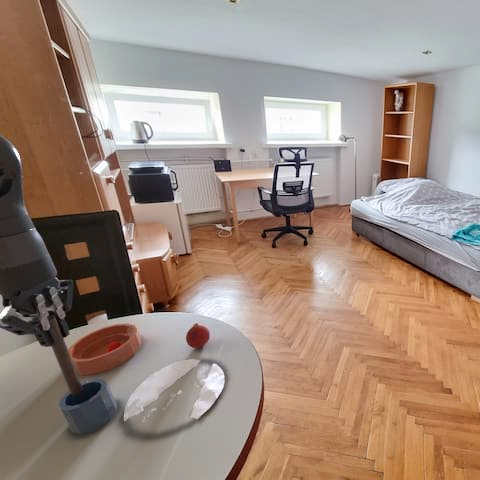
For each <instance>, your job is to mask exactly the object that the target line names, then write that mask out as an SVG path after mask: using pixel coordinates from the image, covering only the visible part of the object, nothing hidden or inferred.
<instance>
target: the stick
mask: <svg viewBox="0 0 480 480" xmlns="http://www.w3.org/2000/svg"><path fill="white" fill-rule="evenodd" d="M47 319H48V321H49V324H50V327H52V328H53V330H54V332H55V334H56V336H57V338H58V340H59V343H58V344H57V345H56V346H51V348H52V352H53V354H54V356H55V359H56V361H57V363H58V366H59V368H60V371H61V373H62V376H63V378H64V381H65V383H66V386H67V388H68V391H70V393H71V395H76V394H79V393H80V392H81V391H82V390H83V388H82V385H81V383H82V382H81V380H80V377H79V375H78V374H77V372H76V369H75V367H74V364H73V361H72V359H71V356H70V354H69V351H68V350H69V348H68V346H67V343H66V340H65V338H63V335H62V333H61V330H60V328H59V325H58V322H57V320H56V317H55V316H48V317H47Z"/></svg>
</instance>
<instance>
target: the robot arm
mask: <svg viewBox="0 0 480 480" xmlns="http://www.w3.org/2000/svg"><path fill="white" fill-rule="evenodd" d="M52 259H53V258H52V257H51V255H50V253H49V251H48V249H47V246H46V243H45V242H44V240H43V238H42V235H40V233H39V232H38V230H37V229H36V227H35V224H34V222H33V220H32V219H31V216H30V214H29V212H28V209H27V207H26V205H25V196H24V184H23V165H22V159H21V156H20V154H19V152H18V150H17V148H16V147H15V146H14V145H13V143H12V142H10V141H9V139H7V138H6V137H4V136H3V135H1V134H0V296H1V298H2V304H1V305H2V307H3V309H2V311H1V312H0V329H2V330H4V331H7V332H9V333H12V334H14V335H16V336H19V337H20V336H28V335H34V336H35V338H36V339H37V342H38V344H39V345H40V346H41V347H45V348H48V347H49V348H50V347H51V348H52V346H56V345H57V344H58V343H59V340H58V338H57V336H56V334H55V332H54V330H53V328H52V327H50V324H49V321H48V319H47V317H48V316H55V317H56V320H57V322H58V325H59V328H60V330H61V333H62V335H63V338H64V339H65V338H67V337H68V336H70V334H71V333H70V328H69V326H68V323H67V321H66V319H65V318H66V313H67V312H68V311H71V310H72V308H73V294H74V283H75V282H74V280H73V279H61V280H59V279H58V277H57V276H58V270H57V268H56V266H55V264H54V261H53V260H52ZM62 299H63V301H62Z"/></svg>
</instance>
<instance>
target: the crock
mask: <svg viewBox="0 0 480 480" xmlns="http://www.w3.org/2000/svg"><path fill="white" fill-rule="evenodd" d="M81 385H82V388H83V390H82V391H81V392H80V393H79V394H76V395H71V393H70V391H69V390H68V391H67V392H65V393H64V395H62V397H61V398H60V399H59V401H58V405H57V406H58V408H59V410H60V412H61V414H62V416H63V418H64V419H65V421H66V423H67V424H68V426H69V428H70V430H71V431H72V433H73V434H76V435H83V434H89V433H90V432H94V431H95V430H97V429H99V428H101V427H102V426H104V425H105V424H107V423H108V422H109V421H110V420H111V419H113V417H114V415H115V414H116V412H117V411H118V410H117V409H118V403H117V401H116V399H115V397H114V395H113V393H112V390H111V388H110V386H109V384H108V382H107V381H106V380H105V379H104V378H93V379H89V380H86V381H84V382H81Z"/></svg>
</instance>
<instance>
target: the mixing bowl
mask: <svg viewBox="0 0 480 480" xmlns="http://www.w3.org/2000/svg"><path fill="white" fill-rule="evenodd" d="M112 342H119V343H120V344H121V346H120V347H119V348H117V349H115V350H113V351H111V352H109V351H108V345H109V344H110V343H112ZM142 342H143V340H142V337H141V335H140V332H139V329H138V328H137V327H136V325H135V324H132V323H116V324H112V325H107V326H104V327H101V328H99V329H96V330H93V331H92V332H88V334H85V335H84V336H82V337H80V338H79V339H77V340H76V341H75V342H74V343H73V344H72V345H70V346H69V348H68V351H69V354H70V356H71V359H72V361H73V364H74V367H75V369H76V372H77V375H78V374H79V375H81V376H87V375H88V376H89V375H96V374H101V373H103V372H107V371H110V370H112V369H114V368H115V367H118V366H119V365H122V364H124V363H125V362H126V361H128V360H130V359H131V358H132V357H133V356H135V355H136V353H137V352H138V351H139V350H140V349H141V347H142Z"/></svg>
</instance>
